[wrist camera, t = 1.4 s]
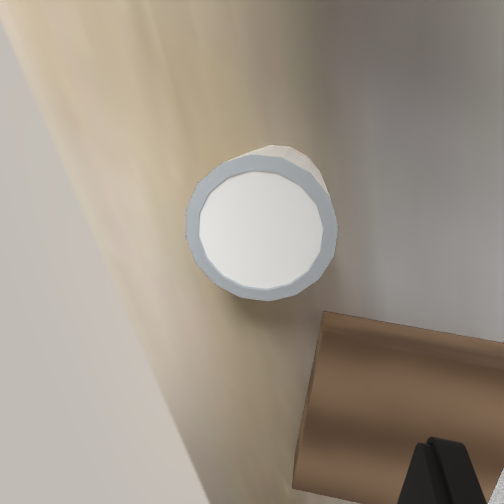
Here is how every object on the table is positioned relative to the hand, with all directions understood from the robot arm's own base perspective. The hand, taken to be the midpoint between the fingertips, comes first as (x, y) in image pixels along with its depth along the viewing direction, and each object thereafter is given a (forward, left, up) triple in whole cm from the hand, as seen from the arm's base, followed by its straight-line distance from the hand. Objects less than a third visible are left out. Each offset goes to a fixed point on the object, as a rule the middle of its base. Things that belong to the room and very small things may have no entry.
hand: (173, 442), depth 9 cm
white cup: (0, 0, -19) cm, 19 cm away
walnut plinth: (+13, +10, -19) cm, 25 cm away
